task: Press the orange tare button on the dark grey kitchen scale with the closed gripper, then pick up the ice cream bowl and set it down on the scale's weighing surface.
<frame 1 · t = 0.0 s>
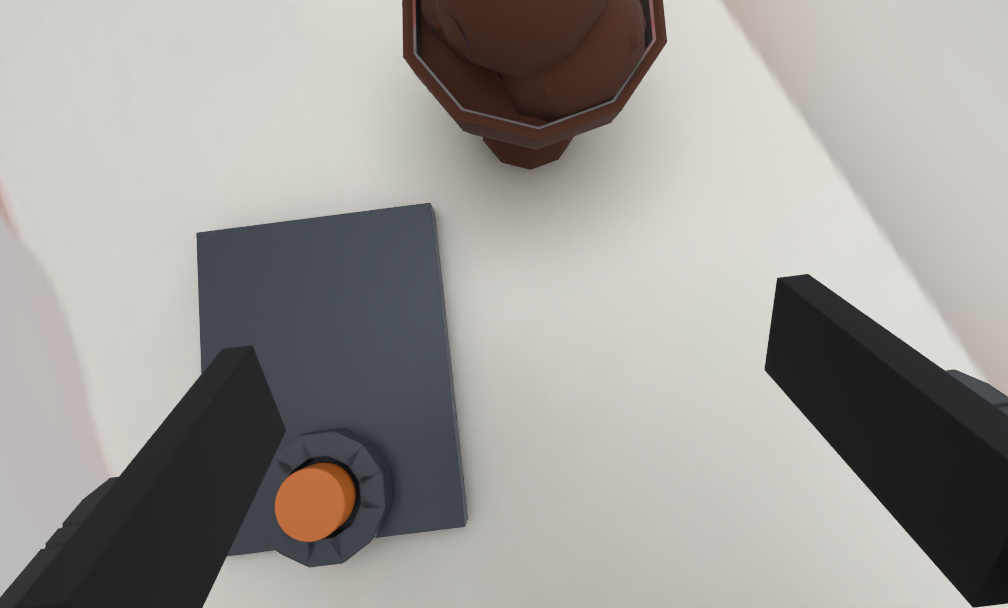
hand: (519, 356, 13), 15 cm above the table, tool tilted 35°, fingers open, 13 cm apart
scale: (333, 373, 29), on the table
tare button: (316, 500, 24), point 4 cm above the table, slide at 0.1 cm
ice cream bowl: (527, 126, 31), on the table
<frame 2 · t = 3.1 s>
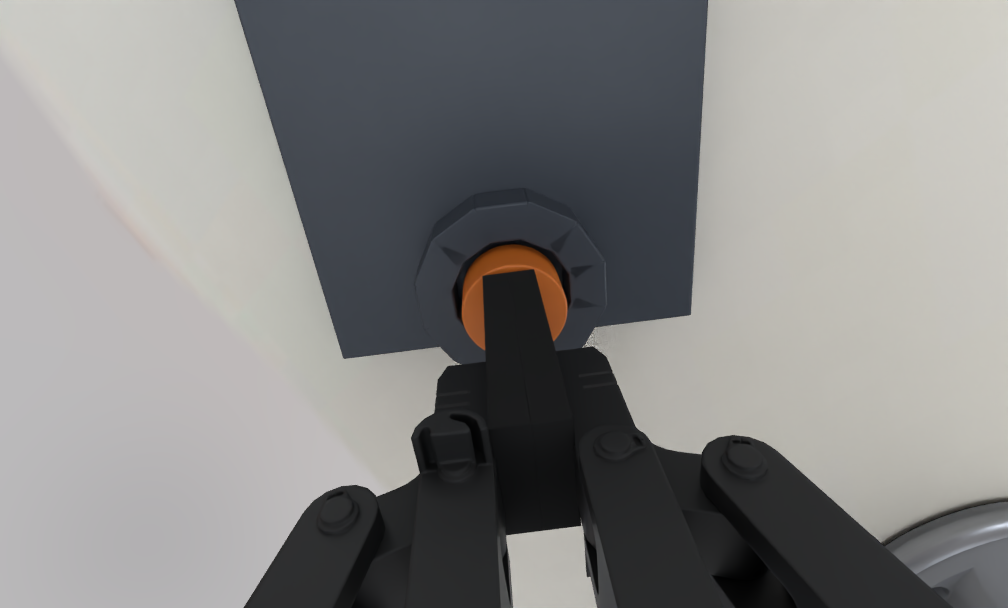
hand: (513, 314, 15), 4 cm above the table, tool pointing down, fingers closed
scale: (486, 88, 17), on the table
tare button: (513, 300, 16), point 3 cm above the table, slide at -0.1 cm, touching gripper
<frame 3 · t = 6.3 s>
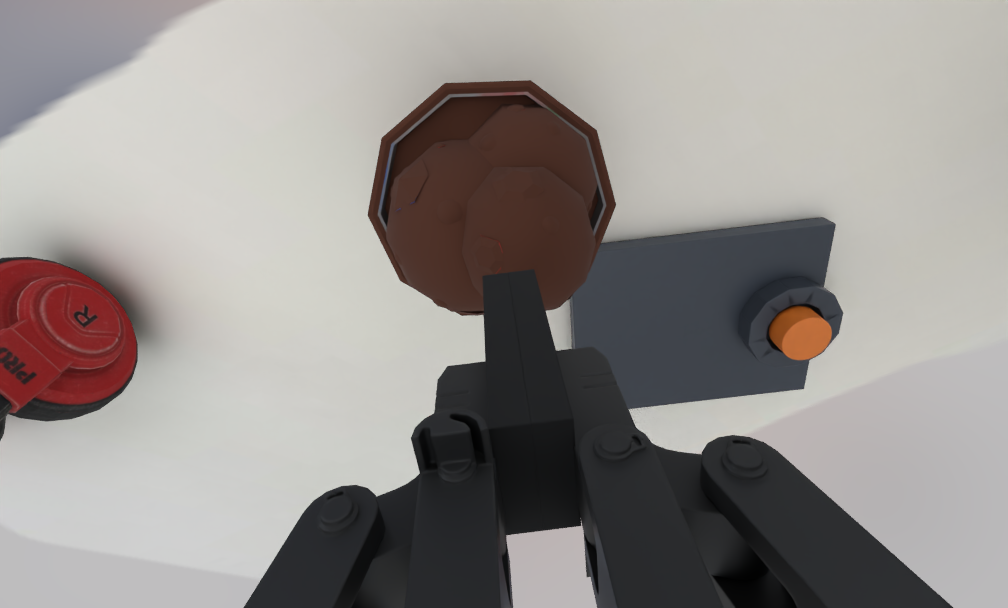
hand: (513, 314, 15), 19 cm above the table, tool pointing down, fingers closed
scale: (689, 317, 37), on the table
headphones: (39, 334, 36), on the table
tare button: (799, 332, 34), point 4 cm above the table, slide at 0.1 cm
ice cream bowl: (488, 163, 32), on the table
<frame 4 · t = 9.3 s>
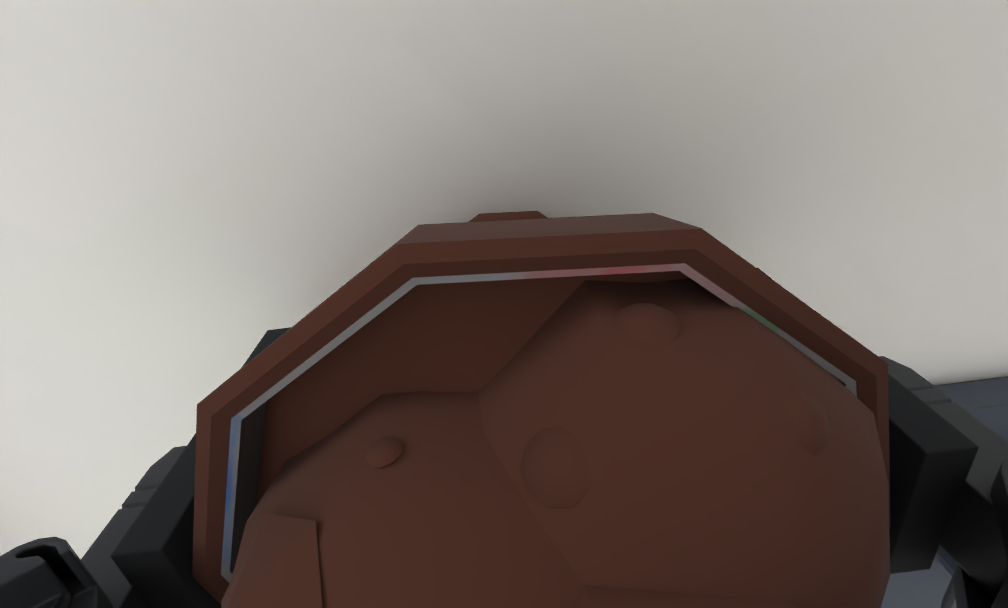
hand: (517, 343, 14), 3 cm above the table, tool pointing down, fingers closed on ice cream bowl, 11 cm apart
scale: (843, 514, 22), on the table
ice cream bowl: (510, 290, 17), on the table, touching gripper
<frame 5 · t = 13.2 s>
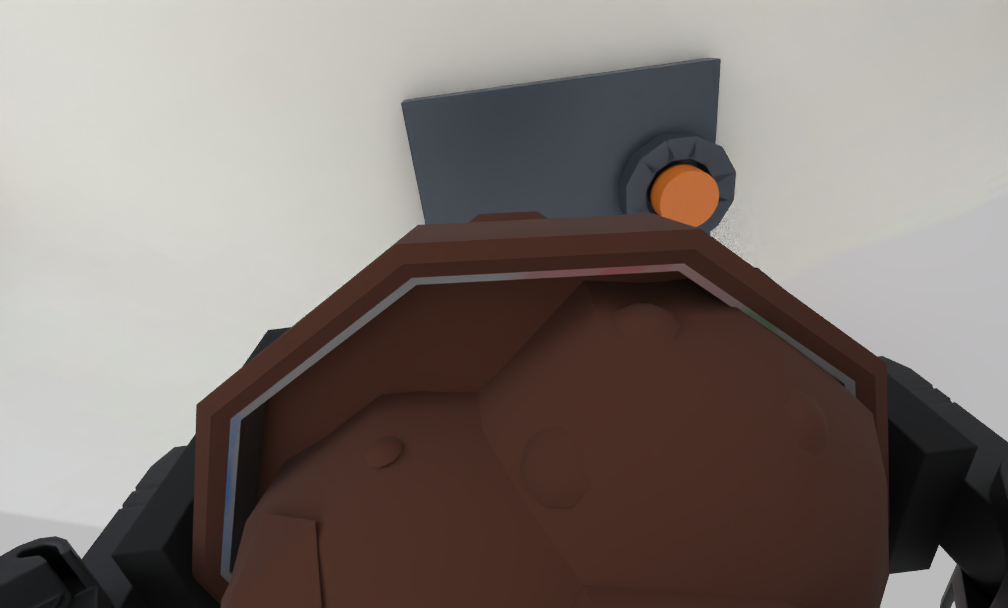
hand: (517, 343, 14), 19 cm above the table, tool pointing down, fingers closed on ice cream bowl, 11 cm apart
scale: (564, 194, 32), on the table
tare button: (683, 196, 28), point 4 cm above the table, slide at 0.1 cm
ice cream bowl: (510, 290, 17), point 16 cm above the table, touching gripper
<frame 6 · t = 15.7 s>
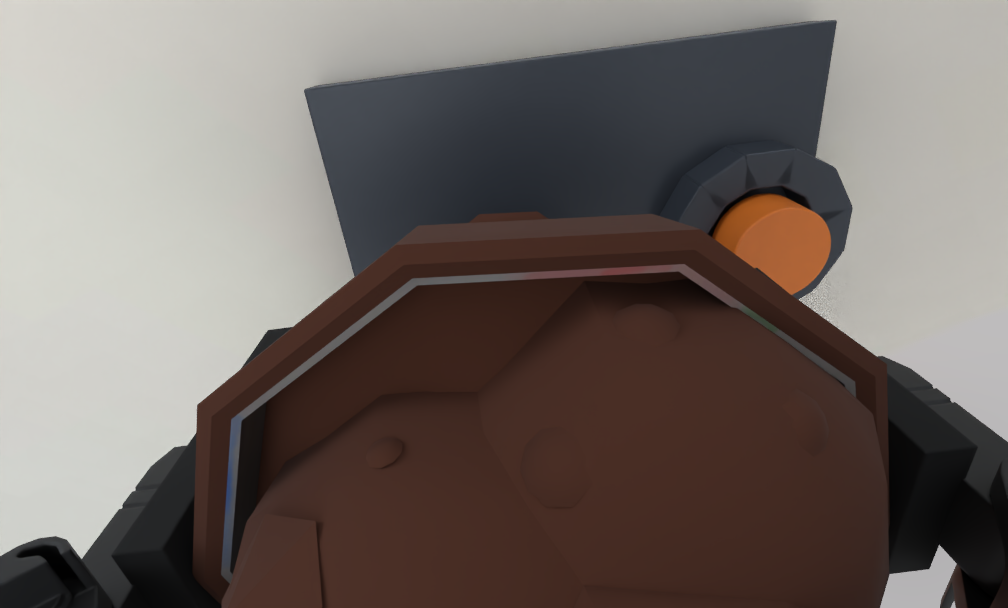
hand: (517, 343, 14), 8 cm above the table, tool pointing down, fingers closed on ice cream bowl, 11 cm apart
scale: (573, 234, 21), on the table
tare button: (768, 246, 17), point 4 cm above the table, slide at 0.1 cm
ice cream bowl: (510, 290, 17), point 4 cm above the table, touching gripper
when the fingers open (4 cm above the table, at t = 17.3 s): ice cream bowl stays where it is, resting on scale.
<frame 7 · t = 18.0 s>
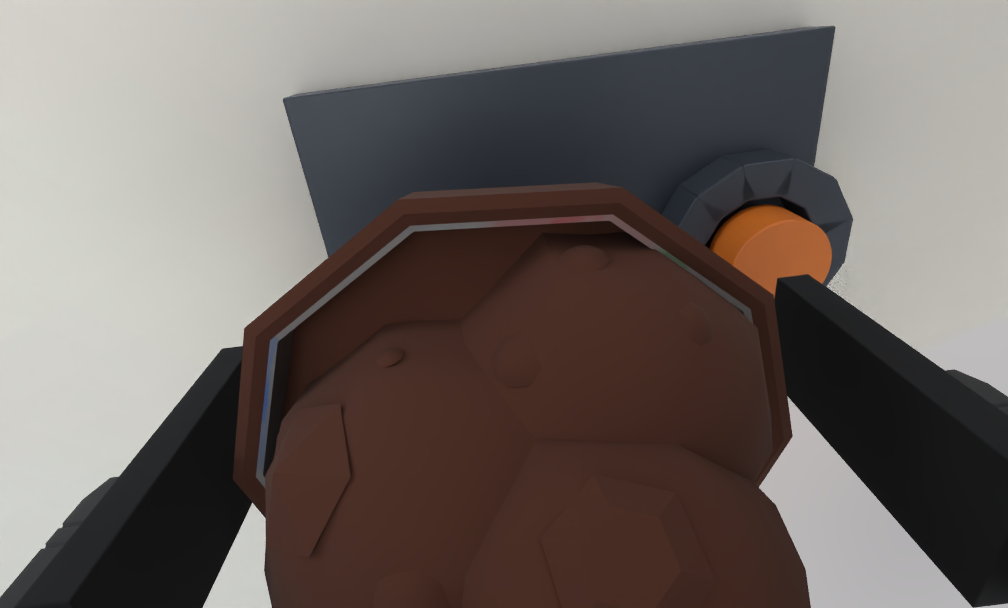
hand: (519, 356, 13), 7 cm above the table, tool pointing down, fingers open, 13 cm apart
scale: (565, 245, 20), on the table
tare button: (766, 259, 17), point 4 cm above the table, slide at 0.1 cm
ice cream bowl: (494, 268, 19), point 1 cm above the table, touching scale
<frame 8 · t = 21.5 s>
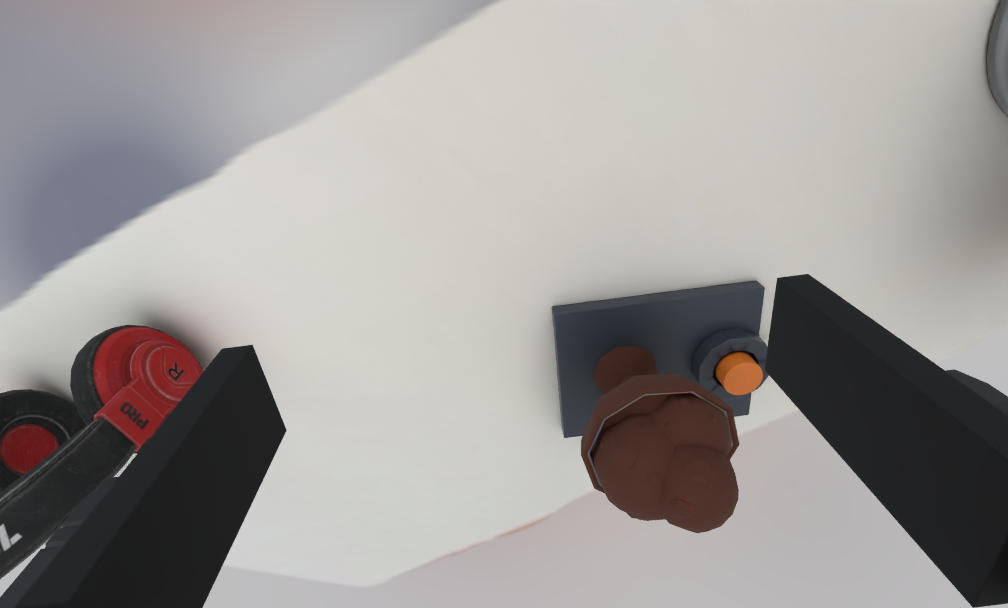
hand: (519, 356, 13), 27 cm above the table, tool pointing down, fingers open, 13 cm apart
scale: (652, 359, 46), on the table
headphones: (126, 380, 44), on the table
tare button: (738, 373, 43), point 4 cm above the table, slide at 0.1 cm
ice cream bowl: (624, 371, 45), point 1 cm above the table, touching scale
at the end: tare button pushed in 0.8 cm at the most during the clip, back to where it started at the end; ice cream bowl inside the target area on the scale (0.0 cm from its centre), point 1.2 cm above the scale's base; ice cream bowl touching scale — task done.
